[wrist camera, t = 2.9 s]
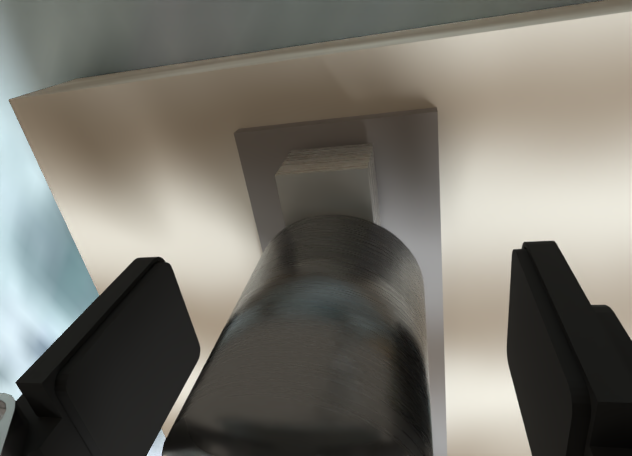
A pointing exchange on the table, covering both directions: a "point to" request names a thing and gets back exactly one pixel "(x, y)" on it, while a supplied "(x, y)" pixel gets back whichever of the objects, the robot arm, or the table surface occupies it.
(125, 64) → the table surface
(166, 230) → the lock board
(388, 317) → the dark metal knob
